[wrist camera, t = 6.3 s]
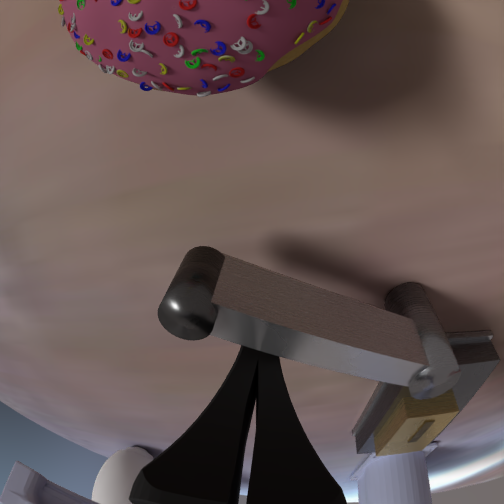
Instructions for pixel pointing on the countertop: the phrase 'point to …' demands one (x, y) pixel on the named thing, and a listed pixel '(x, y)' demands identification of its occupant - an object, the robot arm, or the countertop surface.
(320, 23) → the cupcake
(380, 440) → the yellow slotted box
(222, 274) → the lever
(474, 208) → the countertop surface
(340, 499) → the robot arm
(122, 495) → the sauce bottle
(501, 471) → the countertop surface
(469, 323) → the countertop surface
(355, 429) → the grey rectangular plate
